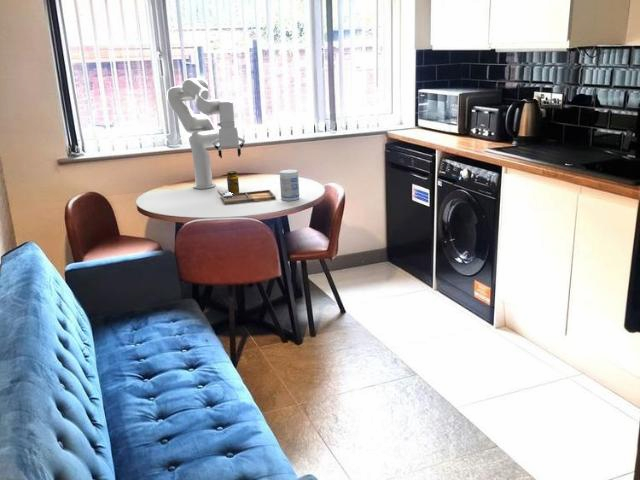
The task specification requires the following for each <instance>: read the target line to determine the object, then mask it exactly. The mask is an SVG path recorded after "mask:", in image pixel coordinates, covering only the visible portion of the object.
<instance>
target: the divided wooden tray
mask: <svg viewBox="0 0 640 480" xmlns="http://www.w3.org/2000/svg"><path fill="white" fill-rule="evenodd" d="M223 195H224V194H220V196H221V197H220V198H221V200H222V202H223V204H224V206H225V205H235V204H243V203H252V202H253V203H254V202H264V201H272V200H276V195H275V194H274V193H273V192H272V191H271V189H265V190H263V189H262V190H255V191H254V190H253V191H245V192H240V193H234V194H232V195H233V198H228V199H227V198H224V196H223Z"/></svg>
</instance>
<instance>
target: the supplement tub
mask: <svg viewBox="0 0 640 480" xmlns="http://www.w3.org/2000/svg"><path fill="white" fill-rule="evenodd" d="M298 172H299V171H298V169H283V170H281V171H279V184H280V185H279V186H280V199H281V200H282V201H284V202H292V201H297V200H298V199H300V187H299V185H300V183H299V173H298Z"/></svg>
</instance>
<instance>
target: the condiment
mask: <svg viewBox="0 0 640 480" xmlns="http://www.w3.org/2000/svg"><path fill="white" fill-rule="evenodd" d="M226 176H227V177H226V183H227V192H228V191H229V192H231V193H233V194H234V193H241V192H240V184H239V176H238V172H237V171H235V170H231V171H228V172H226Z"/></svg>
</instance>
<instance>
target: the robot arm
mask: <svg viewBox="0 0 640 480" xmlns="http://www.w3.org/2000/svg"><path fill="white" fill-rule="evenodd" d="M166 93H167V94H166V98H167V102H168V104H169V106H170V108H171V109H172V111H173V112H174V113H175V114H176V116H177V117H178V119H179V121H180V123H181V125H182V126H183V128H184V130H185V131H186V132H187V133H189V134H190V135H189V138H188V142H189V146H190V149H191V153H192V162H193V169H194V170H193V171H194V178H195V179H194V180H195V183H194V184H193V187H192V188H193V189H197V190H198V189H199V190H203V189H204V190H205V189H212V188H215V187H216V183H215V182H213V176H212V165H211V164H212V163H211V156H210V153H209V151H208V150H207V148H211V147H214V148H215V149H216V150H217V151H218V157H219V158H220V159H223V158H222V157H223V155H222V154H223V153H222V149H223V148H230V147H237V156H238V157H241V155H242V152H241V149H242V148H243V147H244V145H245V142H246V140H245V139H244V138H241V137H239V132H238V129H237V126H236V123H235V113H234V102H233V101H232V100H229V99H228V100H226V99H223V98H219V99H210V100H209V99H208V98H209V95H210V94H209V93H210V92H209V85H208V81H207V80H206V79H205V78H202V77H195V78H193V77H191V78H187V79H184V81H182V83H181V85H176V86H173V87H170V88H169V89H168V90H167V92H166ZM185 101H194V104H195V107H196V109H197V110H198V111H200V113H202V114H195V113H194V112H193V110H192V108H191V107H190V106H189V105H188V104H186V103H185ZM212 115H213V116H214V115H218V116H219V122H217V126H219V128H218V130H217V129H216V127H215V125H214V124H213V121H212V120H211V119H210V117H209V116H212ZM239 142H241V143H239Z"/></svg>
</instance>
